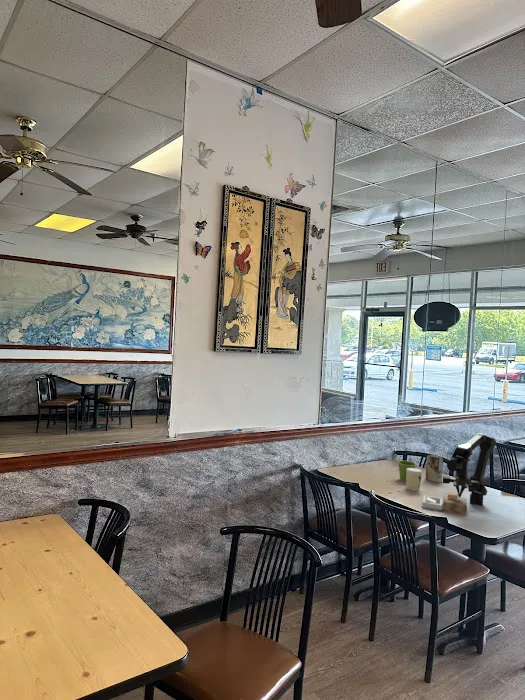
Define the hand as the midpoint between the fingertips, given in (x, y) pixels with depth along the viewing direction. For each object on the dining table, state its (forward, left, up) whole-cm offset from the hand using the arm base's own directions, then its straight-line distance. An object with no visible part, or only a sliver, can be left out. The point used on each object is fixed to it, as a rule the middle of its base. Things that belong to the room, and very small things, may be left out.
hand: (459, 497), depth 271 cm
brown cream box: (+2, +3, -6) cm, 7 cm away
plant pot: (+32, -43, -6) cm, 54 cm away
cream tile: (+14, +6, -2) cm, 16 cm away
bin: (+14, +3, -6) cm, 15 cm away
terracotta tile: (+4, 0, -1) cm, 4 cm away
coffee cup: (+26, -24, -6) cm, 36 cm away
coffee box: (+15, -54, -6) cm, 56 cm away
